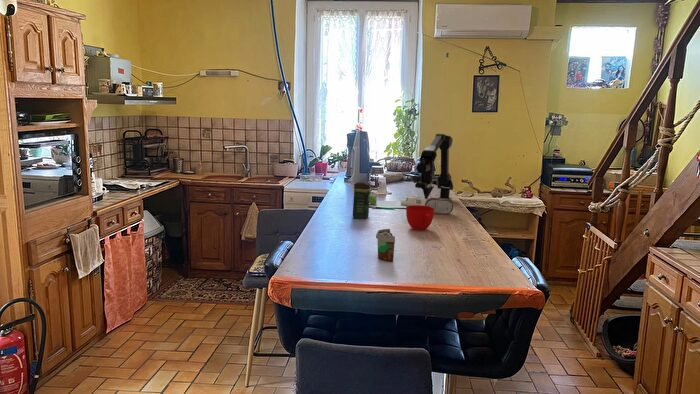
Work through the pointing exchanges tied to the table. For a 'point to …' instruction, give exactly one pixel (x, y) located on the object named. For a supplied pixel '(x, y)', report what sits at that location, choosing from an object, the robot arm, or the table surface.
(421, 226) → the ceramic cup
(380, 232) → the food container
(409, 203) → the box
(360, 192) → the coffee jar
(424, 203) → the tile
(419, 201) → the plate
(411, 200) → the tile
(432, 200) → the tin
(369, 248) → the table surface
